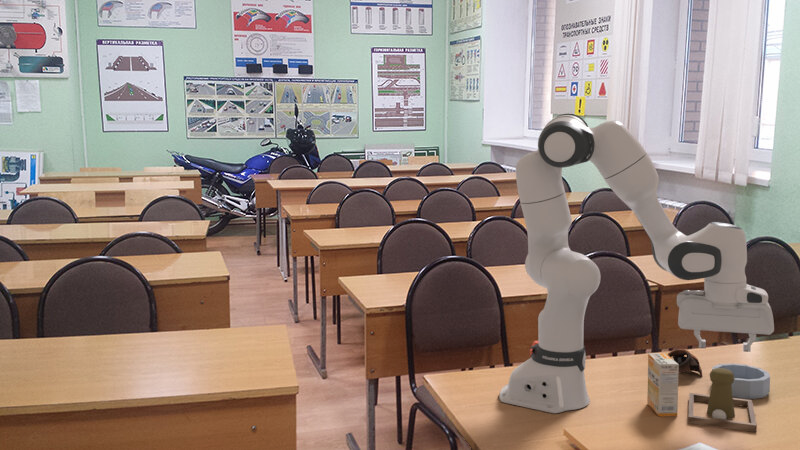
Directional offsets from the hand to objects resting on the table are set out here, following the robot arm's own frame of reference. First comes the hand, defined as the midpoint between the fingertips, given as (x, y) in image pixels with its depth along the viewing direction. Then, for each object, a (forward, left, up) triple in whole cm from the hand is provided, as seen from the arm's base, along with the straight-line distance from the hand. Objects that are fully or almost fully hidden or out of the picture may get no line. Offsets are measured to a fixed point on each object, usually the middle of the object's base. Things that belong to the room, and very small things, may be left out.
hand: (724, 349), depth 158 cm
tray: (0, 0, -16) cm, 16 cm away
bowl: (+5, +19, -16) cm, 25 cm away
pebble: (-1, -5, -16) cm, 17 cm away
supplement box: (-13, -2, -16) cm, 21 cm away
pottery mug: (-9, +27, -16) cm, 33 cm away
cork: (0, 0, -16) cm, 16 cm away
